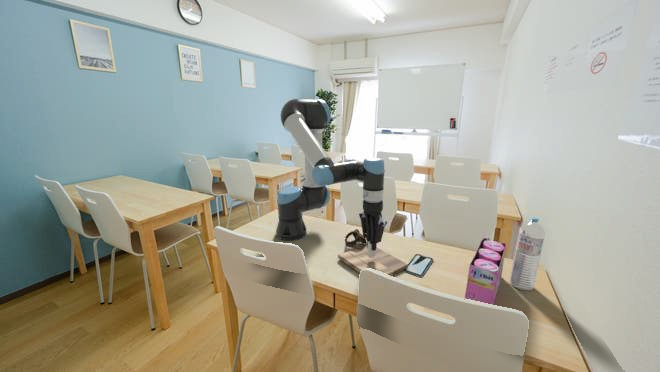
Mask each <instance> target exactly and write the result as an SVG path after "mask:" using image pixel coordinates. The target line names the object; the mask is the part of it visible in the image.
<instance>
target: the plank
mask: <svg viewBox="0 0 660 372" xmlns="http://www.w3.org/2000/svg"><path fill="white" fill-rule="evenodd" d="M357 249H358V248H355V249H352V250H349V251H348V250H347V251H344V252H342V253H338V254H337V258H338V259H339V260H340V261H341V262H343V263H345V264H346V265H348V266H349V267H351V269H353V270H354V271H356V272H358V273H359V274H360V271H361V270H362V269H364V268H372V269H375V270H378V271H381V272H383V273H386V274H388V275H391V276H390V277H392V276H394V275H393V273H394V271H392V270H391V269H389V268H387V267H386V266H384V265H382V264H381V263H379V262H377V261H376V260H374V259H372V258H369V257H368V256H367V255H366V254H364V253H362V252H361V251H359V250H357Z"/></svg>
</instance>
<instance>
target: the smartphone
mask: <svg viewBox="0 0 660 372" xmlns="http://www.w3.org/2000/svg"><path fill="white" fill-rule="evenodd" d="M433 261H434V258H433V257H430V256H426V255H424V254H419V253H415V254H414V256H413V257H412V258H411V259H410V260H409V262H408V263H407V264H408V267H407V268H405V269H404V270H403V272H404V273H405V274H410V275H412V276H415V277H418V278H423V277H424V275H425V274H426V273H427V271H428V270H429V268H430V266H431V265H432V263H433Z"/></svg>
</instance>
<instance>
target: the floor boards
mask: <svg viewBox="0 0 660 372" xmlns="http://www.w3.org/2000/svg"><path fill="white" fill-rule="evenodd" d="M356 249H357V250H359V251H361V252H362V253H364V254H366V255H367V256H368V248H367V245H366V246H365V245H364V246H360V247H357V248H356ZM372 259H374V260H376V261H377V262H379V263H381V264H382V265H384V266H386V267H387V268H389V269H391V270H392V271H394V273H393V276H394V275H397V274H398V273H401V272H402V271H403V272H404V269H405V268H407V267H408V263H407V262H404V261H402V260H401V259H398V258H397V257H395V256H393V255H391V253H388V252H386V251H384V250H382V249H380V248H378V247H377V246H376V250H375V256H374V257H372Z"/></svg>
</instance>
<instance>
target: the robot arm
mask: <svg viewBox="0 0 660 372" xmlns="http://www.w3.org/2000/svg"><path fill="white" fill-rule="evenodd" d="M331 115H332V114H331V108H330V107H329V105H328V104H327V102H326V101H325V100H323V99H320V98H319V99H318V98H317V99H316V98H293V99H291V100H287V102H285V104H284V105H283V106H282V108H281V111H280V121H281V124H282V126H283V128H284V129H285V131H286V132H289V133H290V134H291V136H292V137H293V139H294V140H295V142H296V143H297V145H298V146H299V148H300V150H301V151H302V153H303V155H304V174H305V175H304V177H305V178H304V181H303V182H302V188H301V187H300V186H297V185H294V186H287V187H284V188H282V189H281V190H278V192H277V194H276V195H277V199H276V202H277V203H276V204H277V210H278V211H277V212H278V214H277V215H278V221H277V226H276V230H275V235H277V236H276V238H278V237H279V238H281V239H280V240H282V239H286V240H285V241H297V240H299V239H303V238H304V237H305V236H306V235H307V226H306V224H305V222H304V219H303V213H304V212H307V211H309V212H310V211H314V210H319V209H321V208H324V207H326V206H327V205H328V204H329V202H330V199H331V192H330V189H329V187H328V186H331V185H335V184H340V183H341V184H342V183H348V182H353V181H358V182H362V198H363V200H362V210H363V212H360V213H359V214H358V217H359V219H360V224H361V231H362V235H363V237H364V238H365V239H366V242H367V248H368V257H369V258H372V257H374V256H375V250H376V247H377V246H378V245H377V244H379V243H381V242H382V239H383V234H384V231H385V227H386V225H387V224H388V222H387V220H384V219H383V215H382V212H383V210H384V201H383V200H384V188H385V187H384V185H385V182H384V181H385V173H386V171H385V170H386V169H385V161H384V159H382V158H380V157H366V158H364V160H363V161H361V160H357V159H354V158H353V159H350V158H348V159H345V160H344V161H343V162H336V163H335V162H334V161H333V160H332V158H331V157H330V156H329V154H328V153H327V152H326V150H325V148H324V147H323V132H324V131H325V130H326V125H327V124H329V123H330V120H331ZM279 238H278V239H279ZM296 239H297V240H296Z"/></svg>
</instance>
